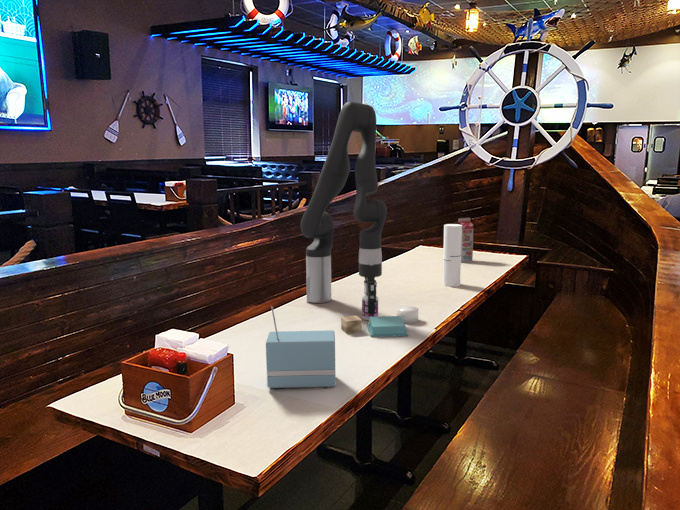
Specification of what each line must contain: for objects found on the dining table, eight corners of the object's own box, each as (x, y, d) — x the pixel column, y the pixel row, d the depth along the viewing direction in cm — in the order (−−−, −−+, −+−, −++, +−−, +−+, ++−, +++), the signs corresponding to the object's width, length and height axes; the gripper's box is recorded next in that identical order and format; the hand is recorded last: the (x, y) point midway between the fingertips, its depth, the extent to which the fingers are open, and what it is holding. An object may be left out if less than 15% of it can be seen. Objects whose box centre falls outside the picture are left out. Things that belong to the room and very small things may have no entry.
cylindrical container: (460, 287, 219) (462, 226, 214) (442, 286, 220) (443, 226, 216) (459, 283, 226) (461, 224, 221) (442, 282, 227) (444, 223, 222)
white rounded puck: (398, 324, 172) (398, 312, 172) (395, 317, 179) (395, 306, 178) (420, 323, 173) (420, 311, 172) (416, 317, 179) (416, 305, 179)
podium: (370, 336, 160) (370, 327, 159) (367, 325, 171) (367, 316, 170) (407, 336, 160) (408, 326, 160) (402, 324, 171) (402, 315, 171)
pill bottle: (364, 321, 175) (364, 292, 173) (360, 316, 180) (359, 288, 178) (380, 319, 177) (380, 291, 175) (375, 315, 182) (375, 287, 180)
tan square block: (346, 334, 163) (346, 321, 163) (341, 329, 168) (341, 317, 167) (361, 332, 165) (361, 319, 164) (356, 327, 169) (356, 315, 169)
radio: (335, 374, 133) (334, 296, 130) (335, 390, 124) (334, 307, 121) (271, 375, 133) (268, 297, 129) (267, 391, 124) (264, 308, 120)
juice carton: (454, 260, 274) (455, 217, 270) (465, 259, 276) (466, 217, 272) (460, 262, 268) (461, 219, 264) (472, 261, 270) (473, 218, 266)
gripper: (357, 257, 182) (357, 305, 185) (360, 265, 168) (360, 317, 171) (379, 257, 182) (379, 304, 185) (384, 265, 168) (384, 316, 171)
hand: (370, 310), depth 178 cm, fingers open, 6 cm apart
